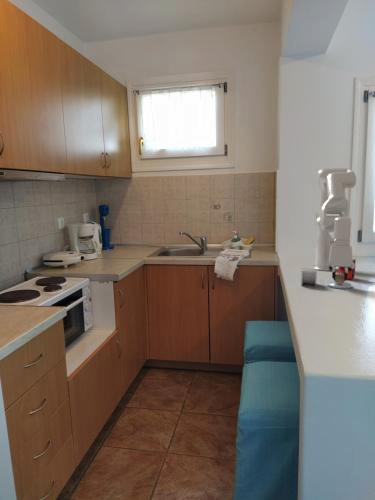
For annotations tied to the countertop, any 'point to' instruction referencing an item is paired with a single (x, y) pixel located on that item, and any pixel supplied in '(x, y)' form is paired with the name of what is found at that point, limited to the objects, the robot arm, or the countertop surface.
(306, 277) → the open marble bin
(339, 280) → the block
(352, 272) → the canned food
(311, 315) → the countertop surface
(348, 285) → the dish
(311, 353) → the countertop surface
